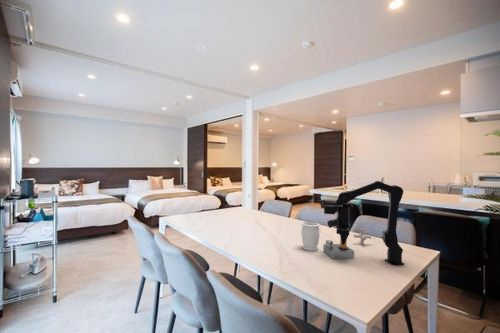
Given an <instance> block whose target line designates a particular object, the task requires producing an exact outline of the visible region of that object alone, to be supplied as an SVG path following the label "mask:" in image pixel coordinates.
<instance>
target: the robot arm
mask: <svg viewBox="0 0 500 333" xmlns="http://www.w3.org/2000/svg"><path fill="white" fill-rule="evenodd" d="M376 190H381V191H384V192H387V195H388V201H389V205H388V215H387V216H388V217H387V222H386V223H387V225H386V229H385V231H384V230H382V236H381V239H382V242H383V243H384V246H386V248H387V254H386V255H387V256H386V257H387V258H385V259H384V261H385V262H387V263H389V264H391V265H393V266H398V265H399V266H401V265H405V263H404V261H402V260H403V258H402V257H403V252H404V249H403V247H402V246H401V245H400V244H399V242H398V239H399V238H398V235H397V234H398V233H397V228H398V227H397V225H398V224H397V223H398V218H399V217H398V215H399V207H400V203H401V201H402V198H403V195H404V190H403V188H402V187H401V186H399V185H395V184H394V185H390V184H387V183H384V182H382V181H380V180H376V181H374V182H372V183H369V184H366V185H363V186H361V187H359V188H356V189H352V190H347V191H342V192H340V193H339V194H338V197H337V199H336V200H335V201H334V202H333V201H332V202H331V201H325V202H324V208H323V213H324V215H335V214H337V217H336V218H334V219H329V220H328V221H327V222H326V223H327V226H328V228H329V229H330V228H333V227H337V228H336V234H337V235H339V236H341V241H342V244H343V245H344V244H345V242H346V240H347V239H348V238H349V236H350V231H351V230H350V229H351V224H350V209H353V208H354V206H353V205H352V204H351V203H350V202H351V201H354V199H356V198H358V197H360V196H362V195H365V194H368V193H371V192H373V191H376Z"/></svg>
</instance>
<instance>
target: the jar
mask: <svg viewBox="0 0 500 333" xmlns="http://www.w3.org/2000/svg"><path fill="white" fill-rule="evenodd" d="M320 233H321V232H320V224H319V223H318V222H313V221H304V222H303V221H302V222H301V241H302V244H303V246H302V248H303V249H304V250H305V251H309V252H312V251H313V252H315V251H317V250H318V245H319V241H320Z"/></svg>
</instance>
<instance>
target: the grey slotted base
mask: <svg viewBox="0 0 500 333" xmlns="http://www.w3.org/2000/svg"><path fill="white" fill-rule="evenodd" d="M323 252H324V253H325V254H326V255H327V256H328V257H330V259H332V260H345V259H349V260H350V259H351V260H353V259H355V250H354V249H352V248H350V247H349V246H347V248H345V249H344V248H340V243H334V241H333V240H329V239H328V240H325V243H324V244H323Z"/></svg>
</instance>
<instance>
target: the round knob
mask: <svg viewBox="0 0 500 333" xmlns="http://www.w3.org/2000/svg"><path fill="white" fill-rule="evenodd" d="M339 236H340V235H339ZM339 238H340V240H339V241H340V242H339V244H340V248H344V249H345V248H347V247H348V246H347V243H348V242H347V240H346V242H345V244H344V245H343V244H342V241H341V236H340V237H339Z"/></svg>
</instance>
